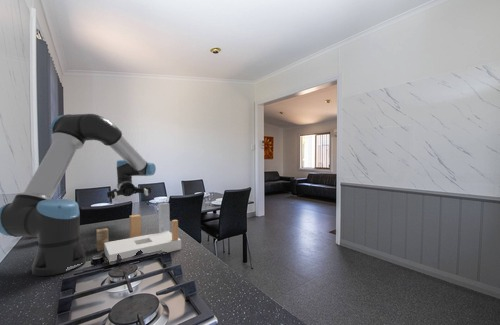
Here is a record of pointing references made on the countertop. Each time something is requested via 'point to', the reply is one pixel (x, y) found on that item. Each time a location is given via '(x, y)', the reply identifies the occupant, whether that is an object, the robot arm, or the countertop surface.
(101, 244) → the pin short
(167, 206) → the pin long
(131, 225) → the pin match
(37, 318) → the countertop surface
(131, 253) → the hole block
